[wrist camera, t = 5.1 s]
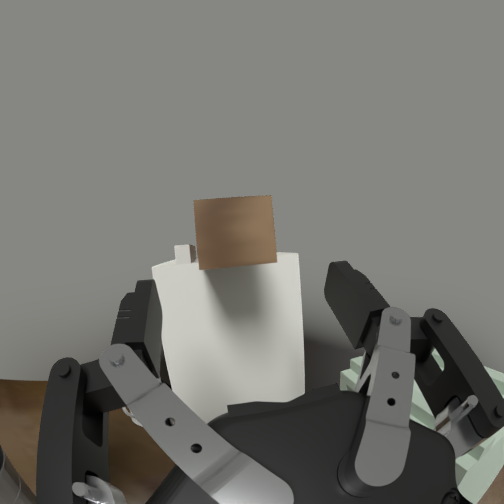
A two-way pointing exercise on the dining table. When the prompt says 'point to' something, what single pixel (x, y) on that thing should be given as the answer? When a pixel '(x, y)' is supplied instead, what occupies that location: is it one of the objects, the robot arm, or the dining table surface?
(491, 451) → the rest stand
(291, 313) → the shelf stand
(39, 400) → the dining table surface
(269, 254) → the hook bar
